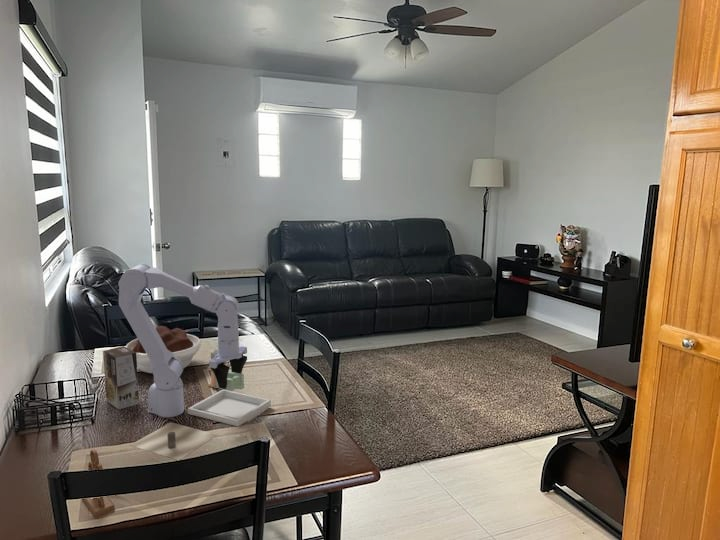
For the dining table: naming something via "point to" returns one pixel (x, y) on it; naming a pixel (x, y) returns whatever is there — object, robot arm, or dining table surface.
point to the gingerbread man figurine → (103, 503)
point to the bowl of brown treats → (168, 347)
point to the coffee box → (121, 377)
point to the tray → (230, 407)
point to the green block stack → (233, 381)
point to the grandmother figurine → (213, 377)
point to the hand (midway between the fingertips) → (229, 384)
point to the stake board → (181, 437)
